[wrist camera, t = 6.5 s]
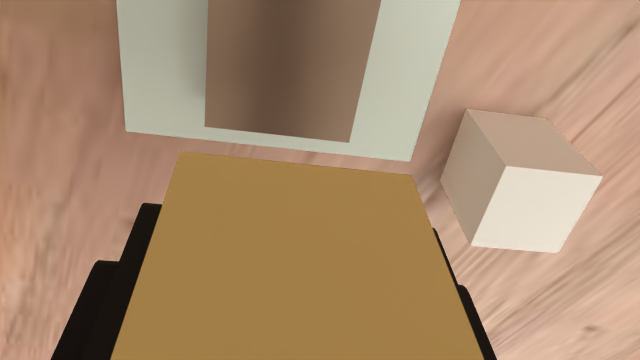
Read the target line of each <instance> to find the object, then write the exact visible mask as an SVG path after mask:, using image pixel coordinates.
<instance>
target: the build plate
mask: <svg viewBox="0 0 640 360" xmlns="http://www.w3.org/2000/svg"><path fill="white" fill-rule="evenodd" d="M460 3H461V0H381V4H380V9H379V13H378V17H377V22H376V26H375V31H374V35H373V39H372V44H371V48H370V53H369V57H368V62H367V66H366V70H365V75H364V79H363V84H362V88H361V92H360V97H359V101H358V106H357V110H356V114H355V119H354V123H353V128H352V132H351V137H350V141H349V143H346V142H337V141H328V140H319V139H310V138H301V137H292V136H283V135H274V134H265V133H256V132H247V131H238V130H229V129H220V128H211V127H204V125H205V92H206V59H207V25H208V0H116V5H117V19H118V32H119V46H120V59H121V72H122V86H123V99H124V113H125V126H126V131H128V132H137V133H146V134H155V135H165V136H174V137H183V138H193V139H202V140H211V141H220V142H230V143H239V144H248V145H257V146H267V147H276V148H285V149H295V150H304V151H313V152H322V153H332V154H341V155H350V156H360V157H369V158H378V159H387V160H397V161H406V162H410V160H411V157H412V154H413V151H414V147H415V144H416V141H417V138H418V135H419V132H420V129H421V125H422V122H423V119H424V116H425V113H426V110H427V106H428V103H429V100H430V97H431V94H432V91H433V88H434V84H435V81H436V78H437V75H438V72H439V69H440V66H441V62H442V59H443V56H444V53H445V50H446V47H447V43H448V40H449V37H450V34H451V31H452V28H453V25H454V21H455V18H456V15H457V12H458V9H459V6H460Z"/></svg>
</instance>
